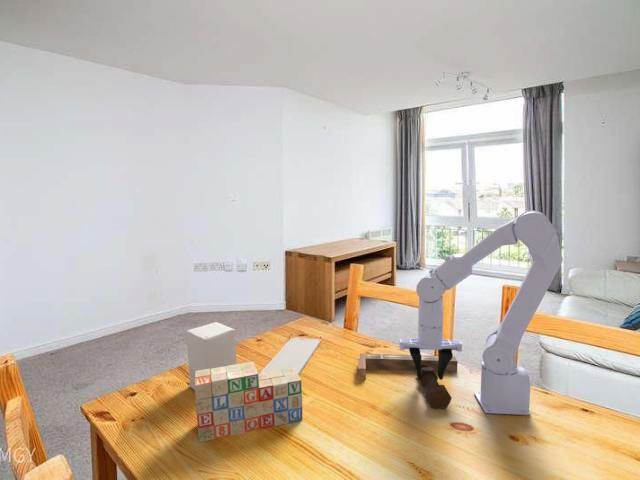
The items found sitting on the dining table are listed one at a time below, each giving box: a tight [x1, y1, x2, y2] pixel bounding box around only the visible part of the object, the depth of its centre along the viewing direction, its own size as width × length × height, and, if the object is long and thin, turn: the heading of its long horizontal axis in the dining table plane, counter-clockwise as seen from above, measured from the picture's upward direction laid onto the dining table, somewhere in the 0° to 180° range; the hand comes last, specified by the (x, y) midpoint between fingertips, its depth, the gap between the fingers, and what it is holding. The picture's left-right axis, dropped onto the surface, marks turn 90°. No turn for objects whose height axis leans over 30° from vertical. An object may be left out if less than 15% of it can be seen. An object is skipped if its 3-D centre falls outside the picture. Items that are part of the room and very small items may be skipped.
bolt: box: [418, 365, 453, 410], centre depth 89 cm, size 6×5×15 cm
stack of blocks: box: [194, 361, 303, 443], centre depth 77 cm, size 21×6×12 cm, turn 108°
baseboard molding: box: [260, 333, 322, 376], centre depth 106 cm, size 31×3×12 cm
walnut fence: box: [357, 353, 458, 380], centre depth 98 cm, size 26×9×3 cm, turn 84°
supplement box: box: [185, 321, 238, 391], centre depth 92 cm, size 9×9×15 cm
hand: (429, 377), depth 90 cm, fingers open, 5 cm apart
